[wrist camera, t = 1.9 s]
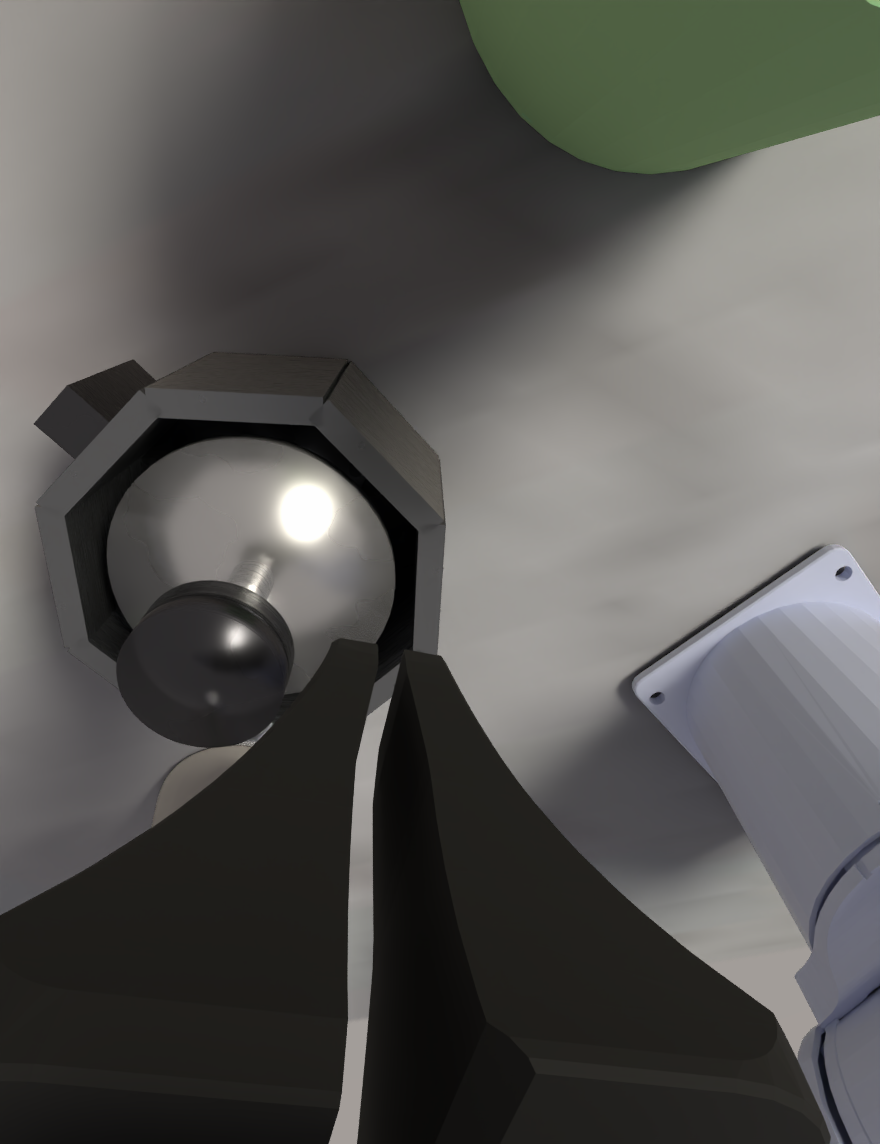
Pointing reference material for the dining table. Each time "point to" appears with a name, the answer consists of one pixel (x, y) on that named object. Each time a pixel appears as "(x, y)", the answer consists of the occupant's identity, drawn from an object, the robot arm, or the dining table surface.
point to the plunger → (240, 582)
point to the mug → (680, 73)
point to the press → (235, 407)
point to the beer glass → (194, 778)
